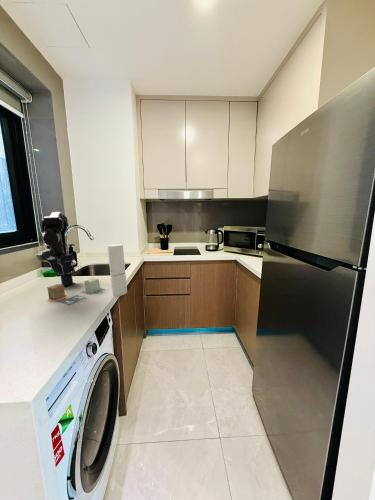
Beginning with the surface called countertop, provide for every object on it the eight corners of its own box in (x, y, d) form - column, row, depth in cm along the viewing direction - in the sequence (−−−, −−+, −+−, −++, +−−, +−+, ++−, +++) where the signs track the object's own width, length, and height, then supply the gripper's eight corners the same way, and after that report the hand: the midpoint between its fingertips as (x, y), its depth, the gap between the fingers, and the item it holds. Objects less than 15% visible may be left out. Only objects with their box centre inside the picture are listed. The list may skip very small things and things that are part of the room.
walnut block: (49, 298, 99) (47, 287, 98) (59, 295, 103) (57, 283, 102) (54, 300, 97) (52, 288, 96) (65, 296, 101) (63, 285, 100)
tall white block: (122, 290, 108) (117, 243, 104) (130, 292, 104) (125, 244, 99) (109, 294, 103) (104, 245, 99) (117, 297, 98) (112, 246, 94)
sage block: (85, 291, 107) (84, 280, 106) (94, 288, 111) (92, 278, 110) (91, 293, 104) (90, 282, 103) (100, 289, 109) (98, 279, 108)
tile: (58, 302, 95) (58, 301, 95) (76, 295, 103) (76, 295, 103) (69, 306, 91) (69, 305, 91) (87, 298, 98) (87, 298, 98)
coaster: (44, 300, 99) (44, 299, 99) (61, 294, 105) (61, 293, 105) (53, 303, 95) (53, 302, 95) (70, 296, 101) (70, 296, 101)
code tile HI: (80, 292, 106) (79, 292, 106) (95, 287, 114) (95, 286, 114) (90, 295, 102) (90, 295, 102) (105, 289, 109) (105, 289, 109)
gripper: (27, 244, 96) (32, 275, 99) (46, 246, 87) (52, 281, 90) (52, 240, 106) (57, 269, 108) (72, 242, 96) (76, 274, 99)
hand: (60, 273), depth 101 cm, fingers open, 9 cm apart
